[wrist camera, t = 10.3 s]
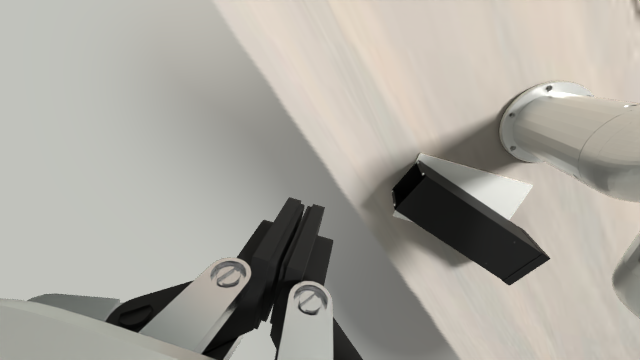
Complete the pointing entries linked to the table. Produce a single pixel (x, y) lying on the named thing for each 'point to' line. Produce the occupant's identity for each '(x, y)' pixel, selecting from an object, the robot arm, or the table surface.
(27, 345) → the robot arm
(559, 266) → the table surface
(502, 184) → the white mat
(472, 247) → the black rectangular box
